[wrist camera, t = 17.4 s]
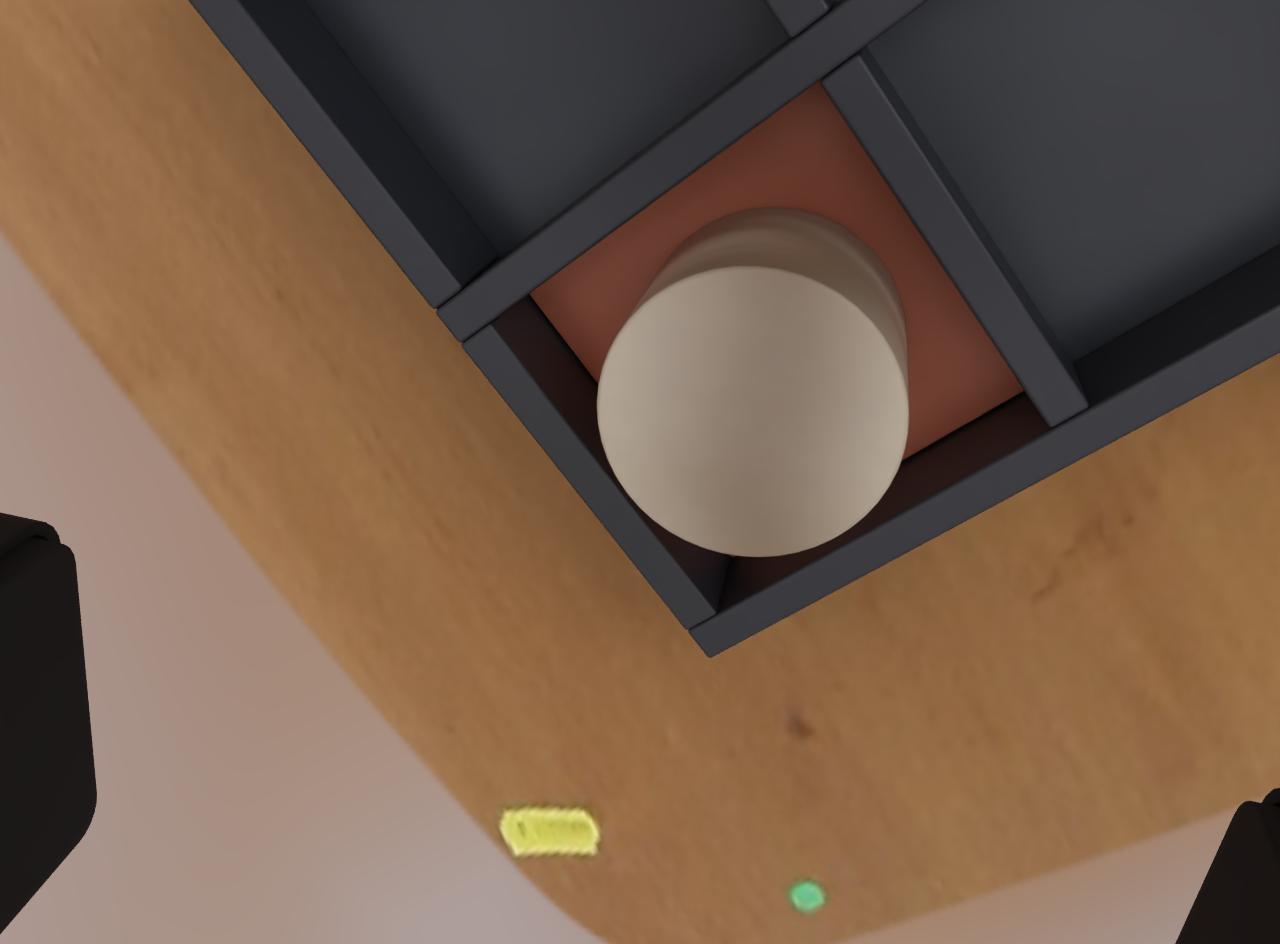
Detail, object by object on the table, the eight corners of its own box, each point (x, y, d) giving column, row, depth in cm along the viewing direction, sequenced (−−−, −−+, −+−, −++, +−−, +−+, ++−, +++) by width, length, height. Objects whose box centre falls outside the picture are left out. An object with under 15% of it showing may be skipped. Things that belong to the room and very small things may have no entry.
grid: (225, -65, 21) (134, -64, 19) (1003, -860, 15) (1025, -1016, 13) (727, 585, 24) (708, 660, 22) (1520, 139, 19) (1619, 172, 16)
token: (627, 427, 23) (577, 522, 19) (666, 183, 21) (619, 237, 17) (872, 480, 22) (868, 587, 18) (936, 234, 20) (945, 302, 16)
